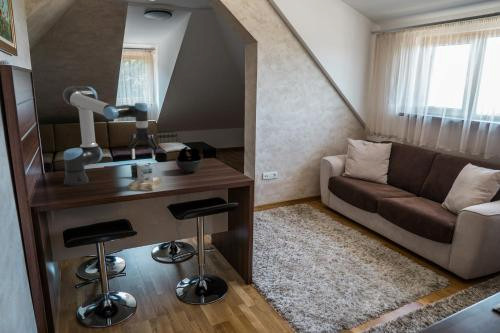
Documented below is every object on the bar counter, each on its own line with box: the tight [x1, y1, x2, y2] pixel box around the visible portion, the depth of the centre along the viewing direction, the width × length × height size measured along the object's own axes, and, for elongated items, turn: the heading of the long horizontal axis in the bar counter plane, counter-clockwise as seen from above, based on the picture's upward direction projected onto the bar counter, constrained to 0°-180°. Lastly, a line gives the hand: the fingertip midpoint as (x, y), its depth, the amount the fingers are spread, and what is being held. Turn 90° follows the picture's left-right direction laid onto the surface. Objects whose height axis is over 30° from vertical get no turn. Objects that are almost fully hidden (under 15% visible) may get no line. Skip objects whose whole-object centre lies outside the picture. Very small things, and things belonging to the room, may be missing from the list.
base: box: [127, 176, 163, 192], centre depth 228 cm, size 16×18×4 cm
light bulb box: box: [136, 162, 154, 183], centre depth 226 cm, size 11×7×11 cm, turn 40°
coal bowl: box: [175, 146, 203, 173], centre depth 264 cm, size 20×20×19 cm
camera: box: [130, 162, 152, 179], centre depth 248 cm, size 14×11×10 cm
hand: (143, 159), depth 224 cm, fingers open, 13 cm apart
